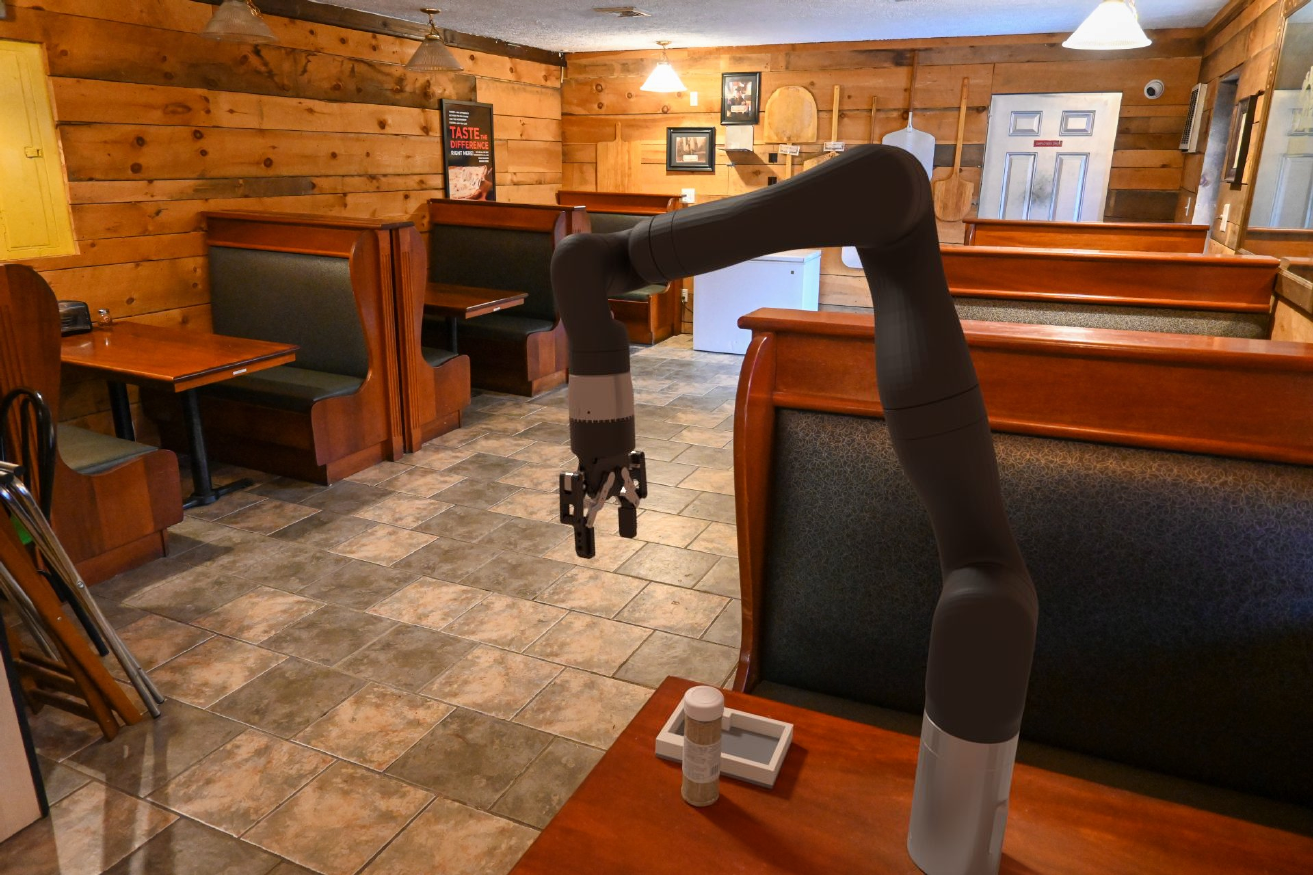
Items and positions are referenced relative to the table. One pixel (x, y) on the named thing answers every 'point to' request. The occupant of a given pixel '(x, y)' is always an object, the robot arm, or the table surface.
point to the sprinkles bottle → (702, 745)
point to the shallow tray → (736, 744)
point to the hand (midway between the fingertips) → (607, 546)
